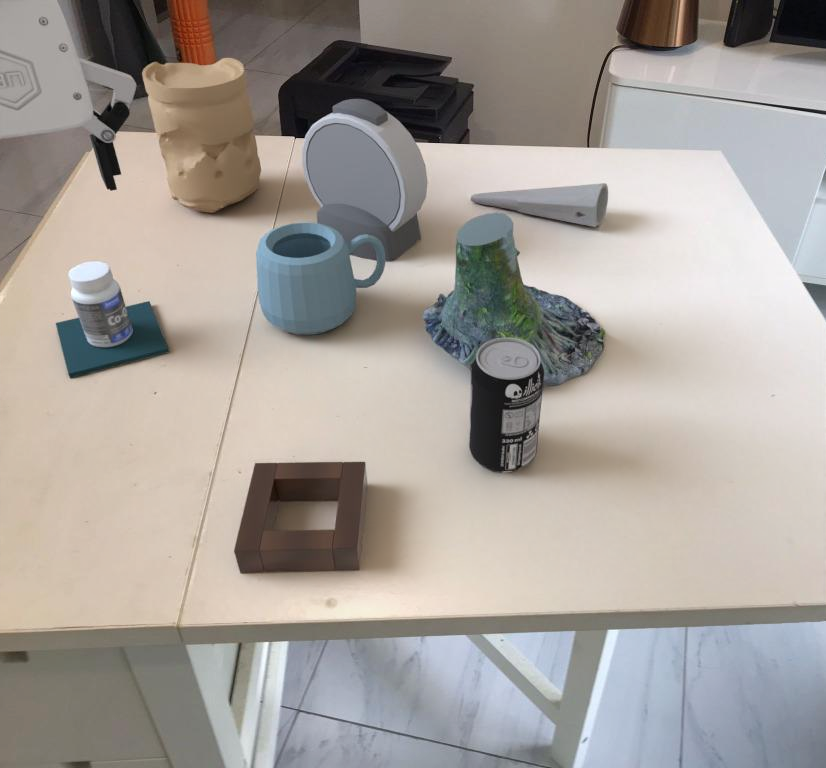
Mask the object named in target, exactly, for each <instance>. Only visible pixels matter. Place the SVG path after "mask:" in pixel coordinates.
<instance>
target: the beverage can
mask: <svg viewBox="0 0 826 768" xmlns="http://www.w3.org/2000/svg"><path fill="white" fill-rule="evenodd" d="M543 381H544V368H543V365H542V363H541V357H540V353H539V351H538V350H537V349H536V348H535V347H534V346H533V345H532V344H530V343H528V342H526V341H524V340H521V339H517V338H497V339H493V340H490V341H488V342H486V343H484V344H483V345H482V346H481V347H480V348H479V349H478V351H477V355H476V359H475V360H474V362H473V364H472V367H471V368H470V400H469V401H470V405H469V407H470V408H469V444H468V446H469V453H470V455H471V456H472V458H473V459H474V460H475V461H476V462H477V463H478V464H479V465H480V466H482V467H484V468H485V469H487V470H490V471H492V472H496V473H511V472H515V471H518V470H521V469H522V468H524V467H526V466H528V465H529V464H530V463H531V462H532V461H533V459H534V458H535V456H536V454H537V449H538V440H539V428H540V421H541V420H540V419H541V410H542V401H543V390H544V386H543Z"/></svg>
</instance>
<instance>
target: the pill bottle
mask: <svg viewBox="0 0 826 768" xmlns="http://www.w3.org/2000/svg"><path fill="white" fill-rule="evenodd" d="M67 275H68V279H69V282H70V285H71V291H70V297H71V300H72V303H73V305H74V308H75V311H76V314H77V316H78V317H77V318H79V319H80V322H81V325H82V328H83V331H84V334H85V336H86V339H87V341H88V342H89V343H90V344H91V345H93V346H96V347H113V346H117V345H119V344H121V343H123V342H125V341H126V340H127V339H129V337H130V336H131V335H132V332H133V329H132V325H131V322H130V319H129V316H128V312H127V309H126V306H127V305H126V302H125V299H124V296H123V292H122V289H121V286H120V283H119V282H118V281H117V280H116V279H114V275H113V271H112V270H111V267H110V265H109V264H108V263H106V262H103V261H99V260H97V261H95V260H94V261H86V262H82V263H79V264H77V265H75V266H73V267H72V268H71V269H70V270H69V271H68V274H67Z"/></svg>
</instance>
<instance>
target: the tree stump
mask: <svg viewBox="0 0 826 768" xmlns="http://www.w3.org/2000/svg"><path fill="white" fill-rule="evenodd" d="M455 242H456V243H455V271H454V272H455V273H454V287H453V290H452V291H451V292H450V293H449V294H448V295H447V296H446V295H444V294H443V293H439V295H438V297H437V298H436V300H437V301H436V302H435V303H434V304H433V305H431V306H429V307H428V308H426V309H425V310H424V312H423V314H422V319H423V321H424V322H425V325H424V326H423V328H424V329H425V331H426V332H427V334H429V336H430V338H431V340H432V342H433V343H435V344H436V346H438V347H440V348H441V349H443V350H444V351H445V353H447V354H448V355H450V356H452V357H453V358H454V359H455V360H457V361H459V362H460V363H461V364H462V365H464V366H466V367H467V368H470V369H471V367H472V364H473V362H474V360H475V359H476V355H477V351H478V349H479V348H480V347H481V346H482V345H483V344H484V343H486V342H488V341H490V340H493V339H497V338H517V339H521V340H524V341H526V342H528V343H530V344H532V345H533V346H534V347H535V348H536V349H537V350H538V351H539V353H540V357H541V363H542V365H543V368H544V381H543V387H545V386H558V385H561V384H563V383H564V382H566V381H568V380H570V379H573V378H578V377H580V376H583V375H585V374H588V372H589V371H590V370H591V369H592V367H593V365H594V364H595V363H596V362H597V360H598V359H599V357H600V356H601V354H602V353H603V352H604V349H605V344H604V339H605V336H606V330H605V329H604V328H603V327H601V326H600V324H599V323H598V321H596V319H595V318H593V317H592V316H591V314H590V313H589V312H588V310H587V311H586V310H585V309H584V308H582V307H580V306H579V305H578V304H576V303H575V302H573V301H572V300H570V299H569V298H568V297H566V296H564V295H559V294H554V293H549V292H548V291H545V290H542V289H539V288H537V287H535V286H529V285H526V284H524V281H523V277H522V274H521V269H520V264H519V260H518V257H519V255H520V254H521V251H519V250H518V248H517V247H516V244H515V237H514V221H513V220H512V217H510V216H509V215H507V214H506V213H504V212H490V213H489V212H488V213H484V214H481V215H478V216H476V217H473V218H471V219H470V220H468V221H466V222H465V223H464V224H463V225H461V227H460V228H459V229H458V231H457V232H456V241H455Z"/></svg>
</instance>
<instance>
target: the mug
mask: <svg viewBox="0 0 826 768" xmlns="http://www.w3.org/2000/svg"><path fill="white" fill-rule="evenodd" d="M364 243H369V244H371V245H372V246H373V247H374V248H375V251H376V255H377V260H376V264H375V269H374V270H373V272H372V274H371V275H370V276H369V277H367V278H365V279H358V278H355V275H354V271H353V265H352V262H351V256H352V255H351V254H352V253H353V252H354V251H355V250H356V249H357V248H358V247H359V246H360V245H362V244H364ZM255 262H256V263H255V265H256V282H257V294H258V295H257V297H258V302H259V303H258V304H259V306H260V309H261V311H262V315H263V316H264V318H265V319H266V320H267V322H268V323H269V324H271V325H273V326H274V327H276V328H277V329H280V330H282V331H283V332H284V331H285V332H287V333H290V334H293V335H294V334H295V335H302V336H303V335H305V336H310V335H311V336H312V335H318V334H324V333H326V332H329V331H332V330H334V329H335V328H337V327H339V326H340V325H342V324H343V323H344V322H345V321H347V320H348V319H349V318H350V317H351V316H352V314H353V313H354V312H355V309H356V301H357V289H368V288H370V287H372V286H374V285H375V284H377V283H378V282H379V280H381V277H382V276H383V273H384V270H385V267H386V261H385V250H384V247H383V245H382V243H381V241H380V240H379V239H378V238H376V237H374V236H371V235H367V234H365V235H359V236H358V237H356V238H354V239H353V240H352V241H351V242H350V243H349V244H348V245H346V242H345V240H344V239H343V237H342V235H341V234H340V233H339V232H338V231H337V230H335V229H333V228H331V227H329V226H326V225H323V224H317V222H295V223H294V222H293V223H289V224H283V225H280V226H277V227H276V228H274V229H271V230H269V231H268V232H266V233H264V235H263V236H262V237H261V238H260V239H259V241H258V245H257V248H256V253H255Z"/></svg>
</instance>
